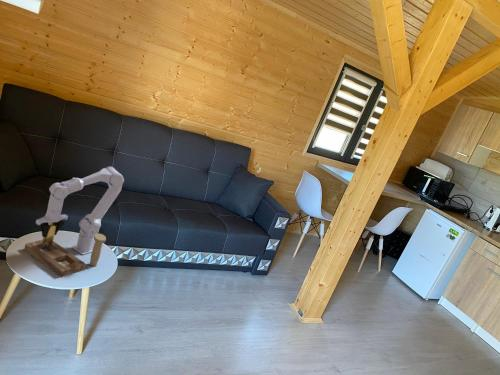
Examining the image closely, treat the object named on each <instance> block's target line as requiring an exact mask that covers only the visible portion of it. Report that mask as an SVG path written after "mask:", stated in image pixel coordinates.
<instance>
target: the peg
mask: <svg viewBox="0 0 500 375" xmlns="http://www.w3.org/2000/svg"><path fill="white" fill-rule="evenodd" d="M48 224H49V225H50V226H51V227H50V228H49V230H48V233H47V237H46V238H44V237H43V236H42V240H43V241H42V244H43V245H45V246H51V245H52V244H53V241H54V240H55V236H56V235H55V231H56V226H57V224H56V223H53V222H48Z"/></svg>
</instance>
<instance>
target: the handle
mask: <svg viewBox="0 0 500 375" xmlns="http://www.w3.org/2000/svg"><path fill="white" fill-rule="evenodd" d="M94 240H95V244H94V247H93V250H92V252H91V255H90V258H89V259H90V261H89V265H90V266H92V267H96V266H97V265H98V262H99V260H100V258H101V252H102V247H103V243H105V242H106V240H107V237H106V235H104V234H102V233H98V234H95V235H94Z"/></svg>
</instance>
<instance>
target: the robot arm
mask: <svg viewBox="0 0 500 375" xmlns="http://www.w3.org/2000/svg"><path fill="white" fill-rule="evenodd" d="M99 182H102V183H106V184H107V186H108V188H107V190H106V191H105V193H104V194H103V195H102V197H101V199H99V201H98V203H97V204H96V206H95V207H94V208H93V210H92V211H91V213H89V214H88V213H87V214H86V215H85V216H84V217H83V218H82V219H80V221H79V223H78V227H79V228H80V229H79V233H78V238H77V241H76V244H75V245H73V246H71V248H72V249H73V250H75V251H76V252H78V253H79V254H81V255H86V254H89V253H92V250H93V247H94V244H95V240H94V235H95V234H99V232H100V228H101V227H102V223H101V222H102V219H103V217H104V216H105V214H106V213H107V211H108V210H109V209H110V207H111V206H112V205H113V203H114V201H115V200H116V199H117V197H118V196H119V195H120V192H121V191H122V189H123V188H122V187H123V185H124V182H125V179H124V176H123V175H122V174H121V173H120V172H119V171H117V170H116V168H115V167H113V166H107V167H104V168H102V169H100V170H99V171H97V172H94V173H92V174H90V175H88V176H85V177H83V178H79V177H72V178H71V179H69V180H65V181H62V182H55V183H53V184H51V185H50V187H48V189H49V190H48V191H49V193H50V195H49V200H48V204H47V211H46V213H45V215H44V216H42V217H39V218H38V219H36V220H35V224H36V225H37V226H40V229H41V236H42V238H43V237H44V238H46V237H47V233H48V230H49V228H50V227H51V226H50V225H49V224H48V222H53V223H56V224H57V226H56V231H55V235H54V236H57V234H58V233H59V231H60V229H61V228H62V226H64V225H65V221H66V220H68V218H69V215H67V214H62V209H63V205H64V200H65V199H66V198H67V197H68V195H70V194H73V193H76V192H78V191H81V190H83V188H84V186H87V185H91V184H96V183H99ZM64 220H65V221H64Z"/></svg>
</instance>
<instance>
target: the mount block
mask: <svg viewBox="0 0 500 375" xmlns="http://www.w3.org/2000/svg"><path fill="white" fill-rule="evenodd" d="M42 241H43V239H40V240H35V241H31V242H26V243H25V244H24V251H25V252H27V253H28V254H30V255H31V256H32V257H34V258H35V259H36V260H37V261H39V262H40V263H41V264H43V265H44V266H46V267H47V268H48V269H50V270H51V271H52V270H53V271H52V272H54V273H55V274H56V273H57V274H56V275H58V276H59V277H60V276H61V277H60V278H63V277H65V276H69V275H72V274H74V273H77V272H80V271H83V270H85V268H86V263H85V262H84V261H82V259H79V257H77V256H75V255H74V254H73V253H72V252H70V251H69V250H67V249H65V248H64V247H63V246H61V245H60V244H58V243H57V242H56V241H54V240H53V244H52V245H51V246H45V245H43V244H42ZM43 249H49V251H45V252H44V251H43Z"/></svg>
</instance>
